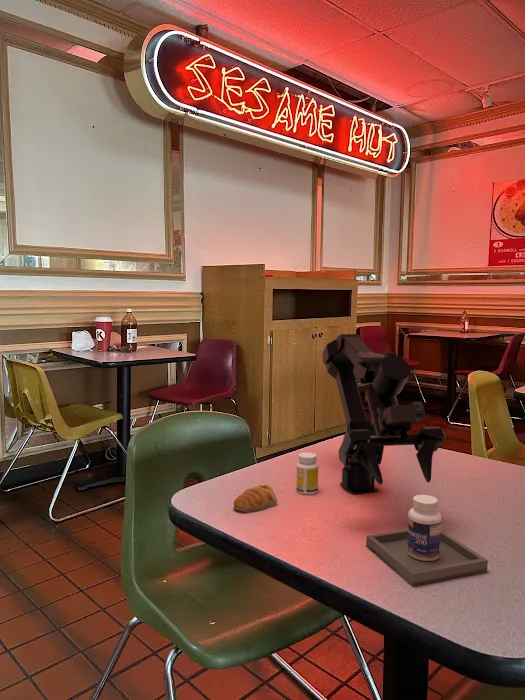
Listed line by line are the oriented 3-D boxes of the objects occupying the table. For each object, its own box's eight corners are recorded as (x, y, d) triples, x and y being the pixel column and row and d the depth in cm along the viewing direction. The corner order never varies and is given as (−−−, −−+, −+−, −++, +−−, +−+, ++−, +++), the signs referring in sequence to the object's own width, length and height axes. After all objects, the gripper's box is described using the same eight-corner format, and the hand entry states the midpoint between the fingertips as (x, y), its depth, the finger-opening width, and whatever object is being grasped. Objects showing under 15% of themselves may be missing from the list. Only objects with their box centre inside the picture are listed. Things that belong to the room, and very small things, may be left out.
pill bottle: (400, 552, 93) (401, 497, 92) (421, 544, 96) (423, 490, 95) (425, 565, 89) (427, 507, 88) (446, 557, 92) (449, 500, 91)
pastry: (248, 518, 109) (248, 499, 109) (225, 508, 114) (225, 490, 113) (279, 505, 116) (279, 487, 115) (257, 497, 120) (257, 480, 120)
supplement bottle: (319, 489, 125) (320, 453, 124) (315, 496, 120) (315, 459, 119) (299, 486, 126) (300, 450, 125) (293, 493, 122) (294, 456, 121)
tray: (433, 535, 101) (433, 525, 101) (487, 572, 88) (487, 560, 88) (366, 546, 97) (366, 535, 96) (412, 586, 83) (413, 574, 83)
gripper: (349, 387, 101) (368, 464, 92) (443, 385, 104) (471, 459, 95) (335, 418, 110) (351, 492, 100) (423, 416, 113) (446, 487, 103)
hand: (405, 482), depth 99 cm, fingers open, 9 cm apart
